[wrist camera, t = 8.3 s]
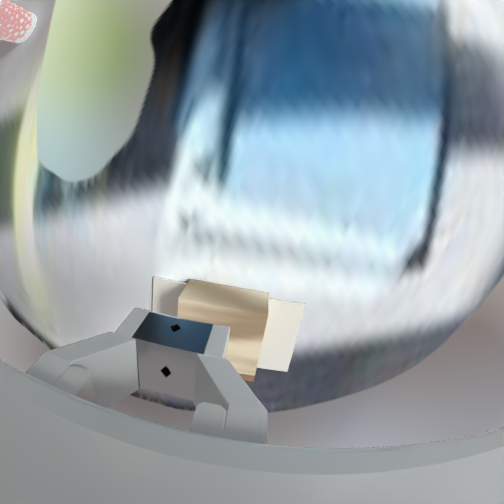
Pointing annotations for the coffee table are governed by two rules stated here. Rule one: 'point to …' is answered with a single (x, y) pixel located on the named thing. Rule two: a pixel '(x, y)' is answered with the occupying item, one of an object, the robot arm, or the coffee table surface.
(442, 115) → the coffee table surface
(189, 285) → the block
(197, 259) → the coffee table surface
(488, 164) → the coffee table surface
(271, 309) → the pad
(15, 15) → the beverage cup
